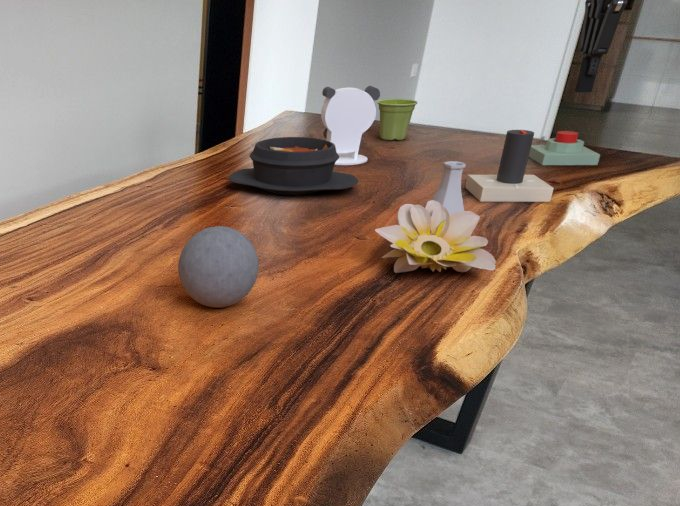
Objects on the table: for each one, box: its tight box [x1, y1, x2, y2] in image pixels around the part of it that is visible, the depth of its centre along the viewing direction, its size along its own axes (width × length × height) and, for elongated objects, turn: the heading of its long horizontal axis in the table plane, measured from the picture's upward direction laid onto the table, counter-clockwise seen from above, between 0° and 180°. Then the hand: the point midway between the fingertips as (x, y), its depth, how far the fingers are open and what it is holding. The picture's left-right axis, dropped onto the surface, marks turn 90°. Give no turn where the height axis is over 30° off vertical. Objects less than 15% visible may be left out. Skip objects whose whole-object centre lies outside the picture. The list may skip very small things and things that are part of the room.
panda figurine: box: [320, 85, 381, 166], centre depth 158 cm, size 12×11×15 cm
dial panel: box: [464, 174, 555, 203], centre depth 132 cm, size 12×10×3 cm
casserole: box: [227, 136, 359, 196], centre depth 139 cm, size 25×19×8 cm
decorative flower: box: [374, 199, 497, 274], centre depth 97 cm, size 15×11×10 cm
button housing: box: [528, 137, 601, 166], centre depth 154 cm, size 11×10×4 cm
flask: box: [431, 160, 467, 216], centre depth 115 cm, size 7×7×10 cm
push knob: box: [555, 130, 579, 143], centre depth 153 cm, size 4×4×2 cm
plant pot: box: [377, 98, 419, 141], centre depth 178 cm, size 9×9×9 cm
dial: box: [496, 129, 535, 184], centre depth 129 cm, size 4×4×9 cm
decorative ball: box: [177, 225, 260, 309], centre depth 90 cm, size 10×10×10 cm
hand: (583, 91), depth 148 cm, fingers closed
